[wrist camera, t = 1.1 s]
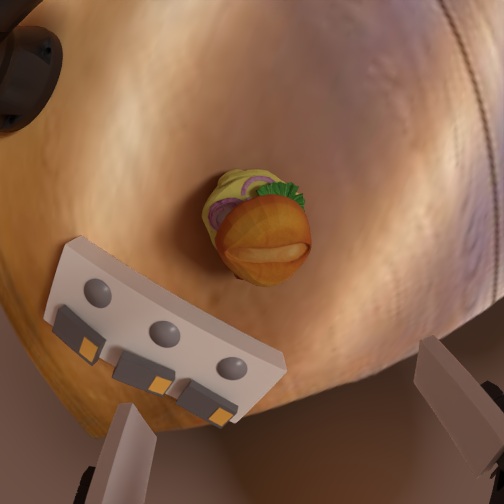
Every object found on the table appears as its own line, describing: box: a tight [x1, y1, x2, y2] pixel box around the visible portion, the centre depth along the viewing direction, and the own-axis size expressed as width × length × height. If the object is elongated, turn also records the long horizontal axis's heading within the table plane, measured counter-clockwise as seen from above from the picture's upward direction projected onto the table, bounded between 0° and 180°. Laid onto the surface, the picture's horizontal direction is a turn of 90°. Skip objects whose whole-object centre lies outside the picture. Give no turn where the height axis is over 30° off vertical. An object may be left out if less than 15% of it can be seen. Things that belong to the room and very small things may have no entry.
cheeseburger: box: [202, 169, 311, 287], centre depth 29 cm, size 10×11×10 cm
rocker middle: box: [112, 350, 175, 397], centre depth 31 cm, size 7×4×2 cm, turn 56°
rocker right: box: [176, 379, 238, 428], centre depth 33 cm, size 7×4×2 cm, turn 56°
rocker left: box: [52, 305, 106, 366], centre depth 29 cm, size 7×4×2 cm, turn 56°
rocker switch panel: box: [43, 235, 287, 423], centre depth 34 cm, size 30×12×4 cm, turn 56°
